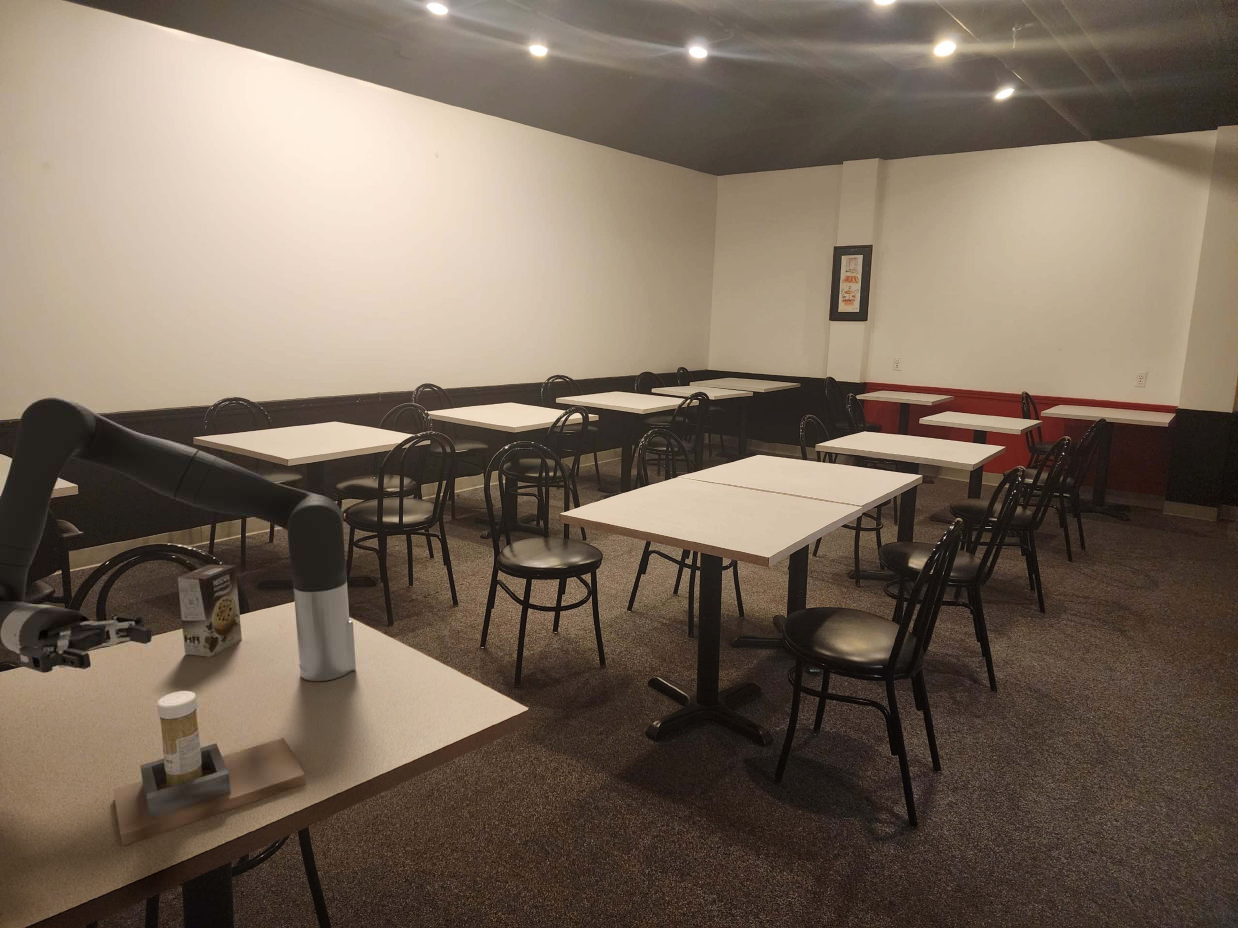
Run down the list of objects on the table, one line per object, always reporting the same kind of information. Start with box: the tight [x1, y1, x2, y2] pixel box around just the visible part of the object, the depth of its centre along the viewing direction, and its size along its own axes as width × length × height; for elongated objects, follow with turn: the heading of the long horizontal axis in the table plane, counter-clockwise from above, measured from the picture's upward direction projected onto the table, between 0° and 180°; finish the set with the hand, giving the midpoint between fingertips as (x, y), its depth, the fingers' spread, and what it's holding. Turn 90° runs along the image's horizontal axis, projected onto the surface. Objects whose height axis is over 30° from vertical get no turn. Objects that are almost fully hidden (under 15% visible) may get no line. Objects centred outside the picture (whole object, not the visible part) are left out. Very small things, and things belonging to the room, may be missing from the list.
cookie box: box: [177, 564, 243, 658], centre depth 152 cm, size 9×6×16 cm
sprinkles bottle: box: [156, 690, 202, 788], centre depth 102 cm, size 5×5×13 cm
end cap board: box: [113, 737, 307, 847], centre depth 105 cm, size 22×12×4 cm, turn 127°
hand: (119, 648), depth 105 cm, fingers open, 8 cm apart
